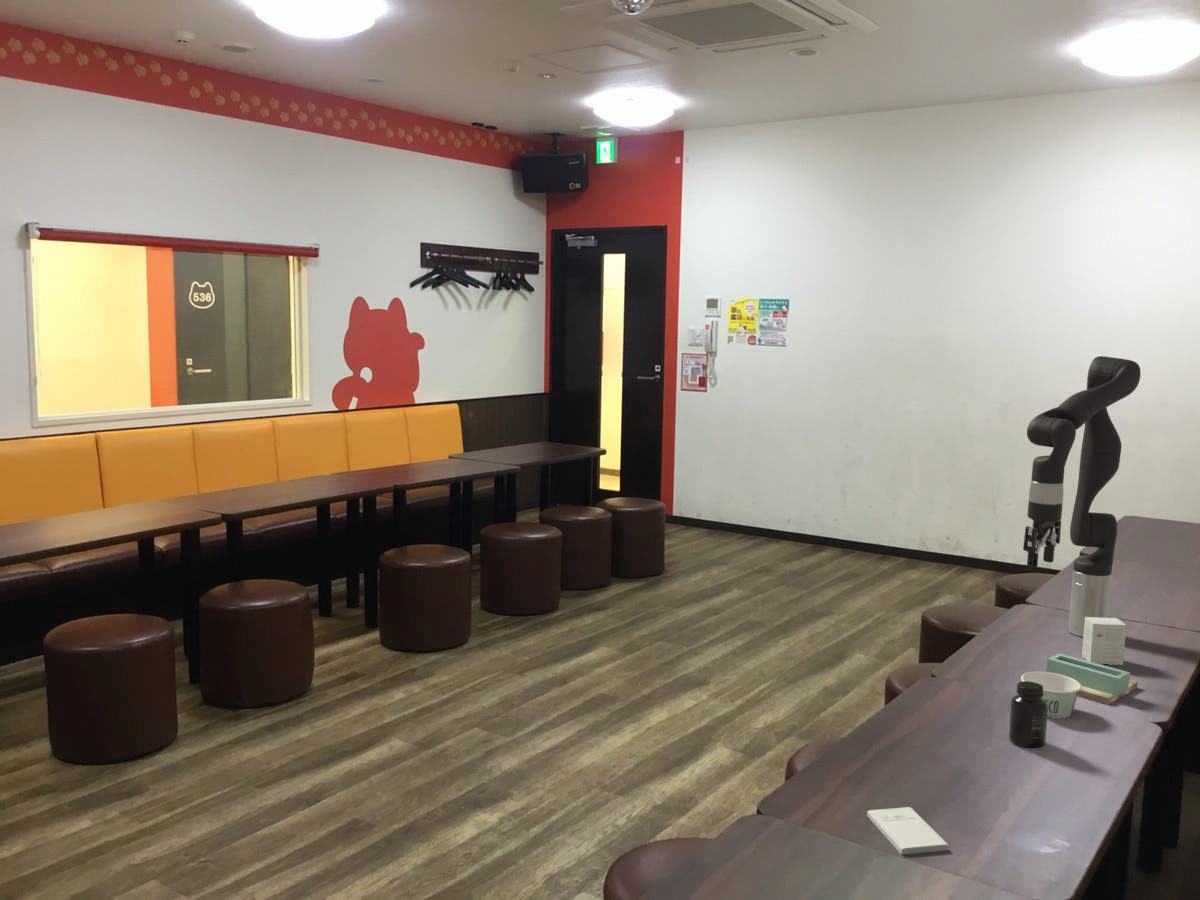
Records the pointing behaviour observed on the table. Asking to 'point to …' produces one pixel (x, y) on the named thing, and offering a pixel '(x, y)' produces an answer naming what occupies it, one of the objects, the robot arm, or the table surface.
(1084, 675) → the teal rectangular frame
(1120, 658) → the small box
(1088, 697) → the peg board
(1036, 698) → the supplement bottle
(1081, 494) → the robot arm
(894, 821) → the external hard drive
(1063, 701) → the food container
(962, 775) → the table surface
